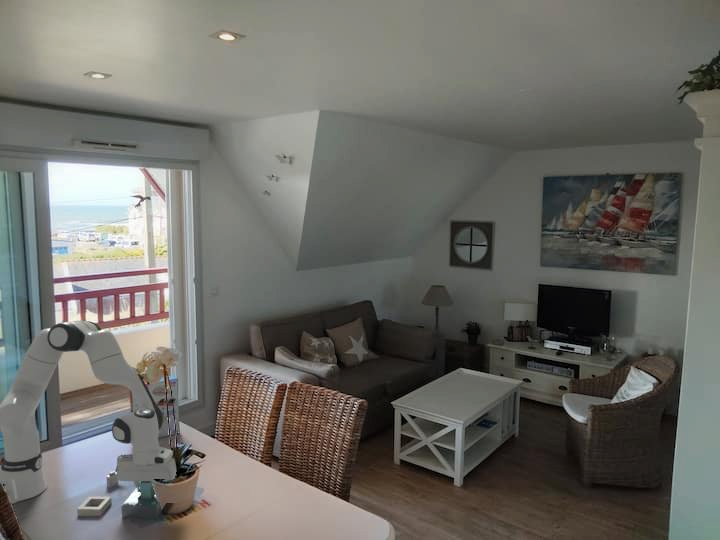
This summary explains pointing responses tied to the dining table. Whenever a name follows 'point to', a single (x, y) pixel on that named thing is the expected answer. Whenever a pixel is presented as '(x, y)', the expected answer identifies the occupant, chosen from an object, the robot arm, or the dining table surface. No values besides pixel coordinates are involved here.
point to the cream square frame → (94, 511)
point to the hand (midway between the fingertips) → (147, 491)
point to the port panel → (141, 507)
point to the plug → (146, 490)
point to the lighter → (112, 478)
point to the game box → (163, 403)
